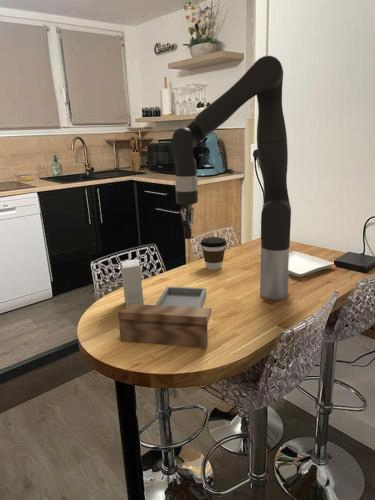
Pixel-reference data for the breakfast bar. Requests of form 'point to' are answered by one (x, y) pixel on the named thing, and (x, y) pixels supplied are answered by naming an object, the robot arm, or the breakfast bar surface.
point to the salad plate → (305, 264)
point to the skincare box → (132, 282)
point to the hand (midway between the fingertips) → (188, 238)
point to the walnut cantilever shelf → (164, 325)
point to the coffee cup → (213, 252)
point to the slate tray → (182, 297)
